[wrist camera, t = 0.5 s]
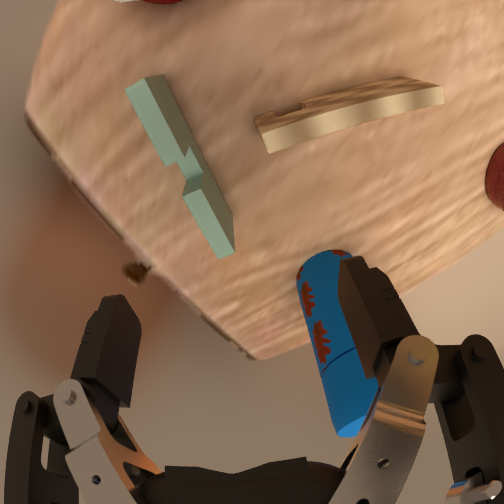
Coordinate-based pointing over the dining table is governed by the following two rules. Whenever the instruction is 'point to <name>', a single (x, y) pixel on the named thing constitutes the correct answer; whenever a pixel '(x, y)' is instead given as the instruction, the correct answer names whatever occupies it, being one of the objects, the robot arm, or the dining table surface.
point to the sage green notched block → (184, 160)
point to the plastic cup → (153, 1)
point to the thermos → (334, 343)
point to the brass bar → (346, 110)
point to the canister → (496, 178)
